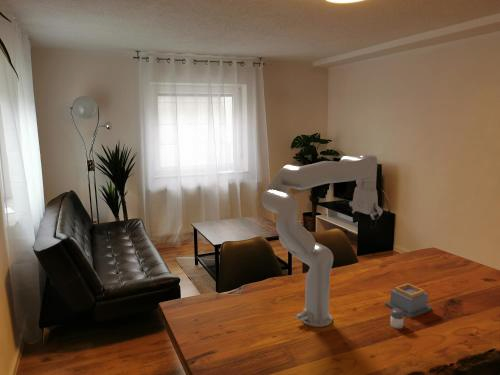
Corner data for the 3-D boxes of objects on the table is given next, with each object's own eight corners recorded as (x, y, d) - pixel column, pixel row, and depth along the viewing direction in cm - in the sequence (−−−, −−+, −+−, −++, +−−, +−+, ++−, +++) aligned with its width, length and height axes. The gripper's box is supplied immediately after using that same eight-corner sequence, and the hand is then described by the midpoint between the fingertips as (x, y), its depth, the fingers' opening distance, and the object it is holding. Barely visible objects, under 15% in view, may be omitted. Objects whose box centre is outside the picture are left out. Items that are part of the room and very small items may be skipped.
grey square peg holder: (410, 318, 159) (412, 299, 157) (384, 305, 170) (386, 286, 168) (432, 309, 166) (433, 290, 164) (406, 297, 177) (407, 279, 175)
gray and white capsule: (397, 329, 151) (398, 315, 150) (387, 324, 155) (388, 310, 154) (405, 326, 153) (406, 312, 152) (395, 320, 157) (396, 307, 156)
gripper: (344, 182, 166) (342, 221, 169) (376, 189, 151) (374, 232, 154) (357, 181, 169) (355, 219, 173) (389, 187, 155) (387, 229, 158)
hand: (364, 225), depth 164 cm, fingers open, 9 cm apart
